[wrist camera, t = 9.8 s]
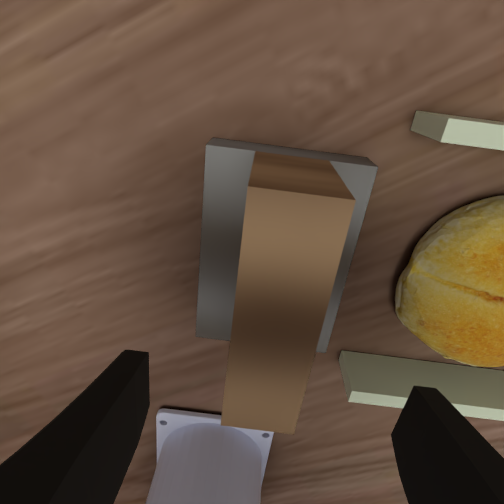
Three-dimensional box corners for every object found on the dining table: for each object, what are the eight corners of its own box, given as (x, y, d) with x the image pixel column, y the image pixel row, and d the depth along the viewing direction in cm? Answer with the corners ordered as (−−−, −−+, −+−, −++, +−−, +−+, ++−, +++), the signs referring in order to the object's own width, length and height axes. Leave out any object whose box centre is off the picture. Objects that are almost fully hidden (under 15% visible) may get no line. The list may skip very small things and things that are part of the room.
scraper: (320, 328, 20) (342, 440, 14) (202, 313, 20) (171, 419, 14) (366, 156, 16) (427, 209, 10) (213, 136, 16) (175, 177, 10)
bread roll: (609, 217, 17) (702, 257, 13) (492, 351, 21) (538, 409, 17) (457, 160, 16) (511, 185, 12) (364, 310, 20) (385, 363, 16)
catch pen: (532, 384, 21) (570, 429, 19) (338, 360, 21) (348, 401, 18) (695, 147, 15) (789, 163, 12) (416, 110, 15) (448, 118, 12)
